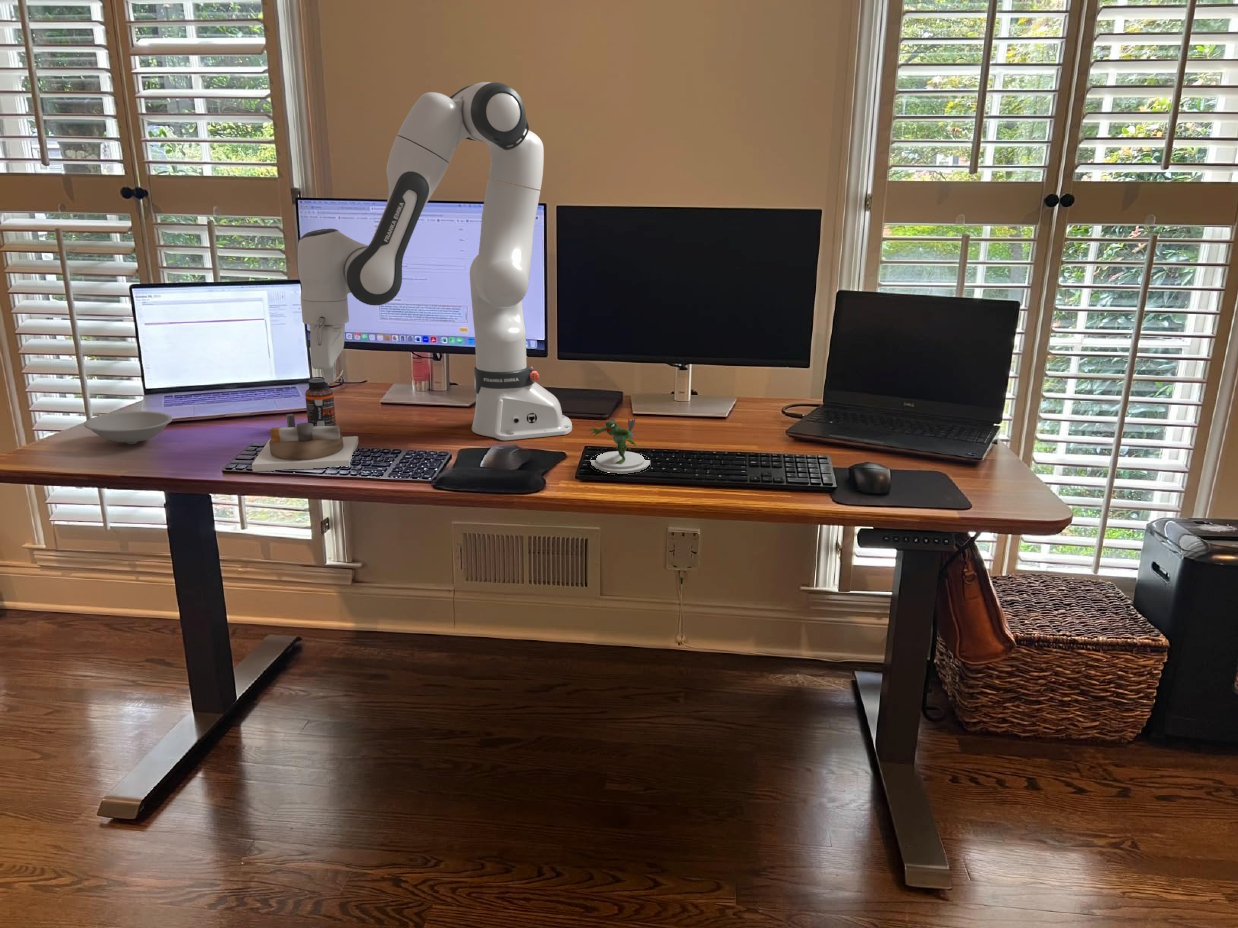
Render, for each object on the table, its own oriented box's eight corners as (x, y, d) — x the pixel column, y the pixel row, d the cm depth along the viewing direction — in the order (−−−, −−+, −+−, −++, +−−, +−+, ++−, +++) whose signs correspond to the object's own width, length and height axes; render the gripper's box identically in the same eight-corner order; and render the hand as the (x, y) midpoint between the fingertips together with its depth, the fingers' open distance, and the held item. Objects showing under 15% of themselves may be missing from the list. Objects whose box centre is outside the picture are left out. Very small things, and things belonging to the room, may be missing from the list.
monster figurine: (577, 465, 175) (577, 415, 172) (617, 451, 184) (617, 404, 181) (623, 479, 168) (624, 427, 165) (662, 464, 177) (663, 414, 173)
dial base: (358, 443, 188) (355, 411, 185) (349, 467, 173) (346, 433, 171) (269, 446, 185) (265, 414, 183) (252, 471, 170) (248, 437, 168)
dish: (191, 436, 192) (188, 414, 190) (145, 456, 178) (141, 433, 177) (120, 430, 195) (116, 409, 193) (70, 450, 181) (65, 427, 180)
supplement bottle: (328, 434, 194) (323, 383, 190) (303, 432, 195) (297, 382, 191) (341, 426, 199) (336, 377, 196) (317, 424, 200) (312, 376, 197)
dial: (347, 437, 186) (345, 414, 184) (338, 458, 173) (336, 433, 171) (278, 439, 184) (275, 416, 182) (263, 461, 171) (260, 436, 169)
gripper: (334, 322, 166) (339, 393, 170) (348, 305, 185) (352, 370, 189) (299, 322, 165) (305, 394, 169) (316, 305, 184) (321, 370, 188)
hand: (330, 381), depth 179 cm, fingers closed
